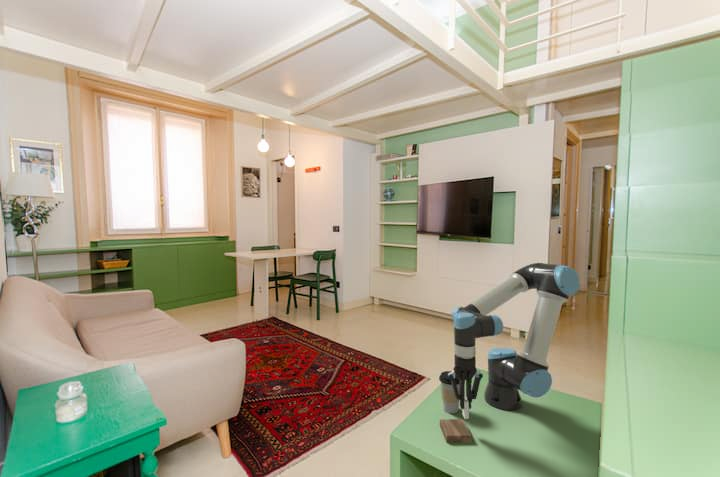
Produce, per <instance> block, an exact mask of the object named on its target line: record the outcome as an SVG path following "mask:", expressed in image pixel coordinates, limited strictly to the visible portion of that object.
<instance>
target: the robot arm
mask: <svg viewBox="0 0 720 477" xmlns="http://www.w3.org/2000/svg"><path fill="white" fill-rule="evenodd" d="M580 284H581V281H580V277H579V274H578V272H577V271H576V270H575V269H574V268H573V267H571V266H568V265H563V264H551V263H544V262H535V263H531V264H527V265H525V266H523V267H521V268H519V269H517V270H515V271H514V272H512V273H510V275H509V277H508V278H507V279H506V280H504V281H503V282H502V283H500V284H498V285H497V286H495V287H494V288H492V289H490V290H489V291H488V292H486V293H484V294H483V295H482V296H480V297H478V298H477V299H475V300H474V301H472V302H471V303H469V304H468V305H466V306H464V307H463V306H456V307H455V308H454V309H453V310H452V312H451V318H452V321H453V335H454V344H453V345H454V367H453V368H452V369H453V370H451V371H452V372H451V373H450V372H448V376H449V377H450V379H451V383H452V387H453V390H454V394H455V397H456V398H457V400H459V407H460V409H461V410H462V416H463V419H464V420H467V419H468V420H469V418H470V410H471V409H472V403H473V400H476V399H477V397H478V392H479V389H480V384H481V380H482V378H483V377H484V375H483V373H482V372H481V371H479V370H477V368H476V366H477V365H476V352H477V351H476V339H479V338H487V337H494V336H498V335H500V334H502V333H503V331H504V323H503V321H502V319H501V318H500V316H498V315H496V314H493V315H491V313H492V312H493V311H495V310H497V309H498V308H500V307H501V306H502V305H504V304H505V303H507V302H508V301H510V300H512V299H513V298H514V297H516V296H518V295H519V294H520V293H526V292H528V291H529V290H532V289H533V290H535V291H536V294H537V295H538V299H537V302H536V306H535V308H534V313H533V315H532V319H531V322H530V325H529V329H528V332H527V337H526V339H525V343H524V346H523V349H522V351H520V352H518V353H517V351H516V350H515V349H513V348H509V347H496V348H491V349H489V351H488V354H487V355H488V356H487V369H488V370H487V376H488V381H487V384H486V387H485V389H484V400H485V402H486V403H487V404H488V405H491V406H492V407H494V408H496V409H500V410H504V411H514V410H518V409H520V408H521V407H522V397H521V394H520V392H521V393H523V394H525V395H527V396H528V397H532V398H536V399H537V398H542V397H543V396H544V395H546V394H547V393H548V392H549V391H550V388H551V387H552V383H553V378H552V375H551V373H550V372H549V371H548V370H549V364H548V361H547V358H548V354H549V350H550V347H551V345H552V340H553V336H554V334H555V331H556V327H557V323H558V320H559V316H560V312H561V309H562V305H563V304H564V303H566V302H568V301H569V297H570V296H571V297H572V296H574V295H576V294H577V293H578V291H579V289H580ZM455 374H456V375H457V376H458V378H459V393H458V389H457V385H456V381H455V379H454V378H455ZM472 381H473V382H472ZM472 383H473V384H472Z"/></svg>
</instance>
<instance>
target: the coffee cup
mask: <svg viewBox="0 0 720 477" xmlns="http://www.w3.org/2000/svg"><path fill="white" fill-rule="evenodd" d="M452 371H453V370H446V371H442V372H441V373H440V375H439V377H438V381H440V391H441V392H440V393H441V399H442V405H443V410H444V411H445V412H446V413H447V414H451V415H452V414H453V415H454V414H456V413H458V412H459V407H460V400H457V398H456V397H455V394H454V390H453V387H452V383H451V379H450V377H449V376H448V372H450V373H451V372H452ZM454 379H455V381H456V385H457V389H458V393H459V378H458V376H457V375H456V374H455V378H454Z"/></svg>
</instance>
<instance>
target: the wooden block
mask: <svg viewBox="0 0 720 477" xmlns="http://www.w3.org/2000/svg"><path fill="white" fill-rule="evenodd" d="M439 427H440V430H441V432H442V435H443V438H444V440H445V442H446V444H451V443H452V444H456V443H458V444H459V443H465V444H466V443H472V434H471V432H470V430H469V428H468V426H467V425H466V423H465V421H464V418H463V419H462V418H459V419H458V418H452V419H451V418H450V419H449V418H448V419H447V418H446V419H445V418H442V419H439Z"/></svg>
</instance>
